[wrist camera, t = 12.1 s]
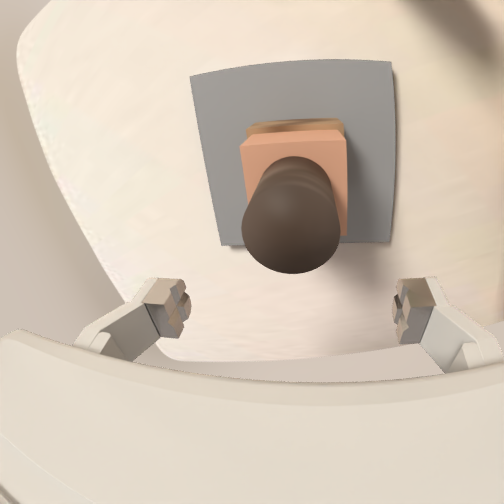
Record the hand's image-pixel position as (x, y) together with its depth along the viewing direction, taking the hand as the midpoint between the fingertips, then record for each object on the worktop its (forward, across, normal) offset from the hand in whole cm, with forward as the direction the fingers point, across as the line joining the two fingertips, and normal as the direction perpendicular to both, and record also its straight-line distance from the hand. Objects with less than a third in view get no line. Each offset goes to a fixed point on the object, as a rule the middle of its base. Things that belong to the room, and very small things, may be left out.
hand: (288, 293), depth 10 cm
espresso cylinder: (+11, 0, 0) cm, 11 cm away
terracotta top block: (+16, 0, 0) cm, 16 cm away
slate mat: (+22, 0, 0) cm, 22 cm away
